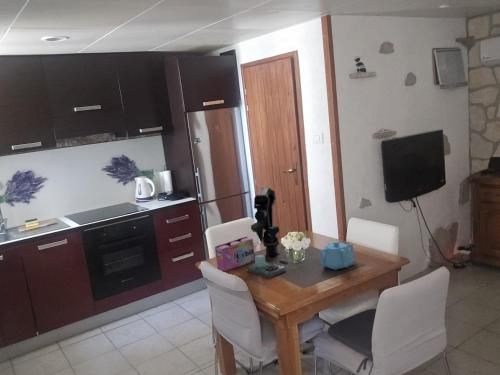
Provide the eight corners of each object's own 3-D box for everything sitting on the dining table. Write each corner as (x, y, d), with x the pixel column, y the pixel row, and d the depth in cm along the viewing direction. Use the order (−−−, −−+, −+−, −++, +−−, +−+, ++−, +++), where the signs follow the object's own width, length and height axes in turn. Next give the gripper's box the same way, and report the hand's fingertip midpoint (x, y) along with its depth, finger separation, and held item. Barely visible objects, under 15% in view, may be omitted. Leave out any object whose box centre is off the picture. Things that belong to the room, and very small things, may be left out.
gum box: (249, 257, 270) (247, 236, 268) (257, 259, 264) (255, 238, 261) (217, 269, 256) (214, 246, 254) (224, 271, 250) (221, 249, 248)
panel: (263, 265, 253) (263, 259, 253) (285, 271, 239) (285, 265, 239) (247, 271, 246) (247, 266, 245) (269, 278, 232) (268, 272, 231)
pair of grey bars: (280, 261, 256) (280, 259, 256) (287, 263, 251) (287, 261, 251) (271, 265, 251) (271, 263, 251) (279, 267, 247) (278, 265, 247)
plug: (261, 268, 249) (260, 254, 247) (266, 269, 246) (264, 255, 244) (256, 270, 246) (254, 256, 245) (260, 271, 243) (259, 257, 242)
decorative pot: (346, 273, 226) (343, 248, 224) (317, 269, 236) (315, 245, 233) (358, 262, 239) (356, 238, 237) (330, 259, 249) (328, 236, 246)
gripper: (242, 217, 253) (245, 243, 256) (263, 221, 238) (266, 249, 241) (256, 213, 260) (260, 238, 262) (278, 216, 245) (281, 243, 248)
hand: (266, 242), depth 253 cm, fingers open, 9 cm apart
